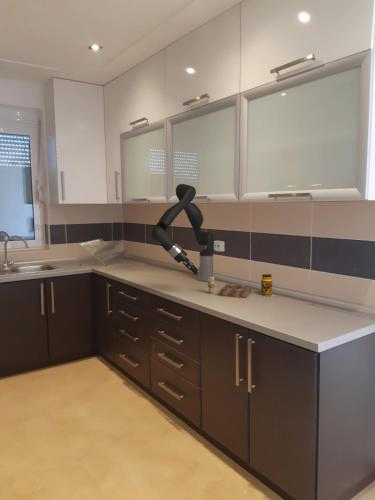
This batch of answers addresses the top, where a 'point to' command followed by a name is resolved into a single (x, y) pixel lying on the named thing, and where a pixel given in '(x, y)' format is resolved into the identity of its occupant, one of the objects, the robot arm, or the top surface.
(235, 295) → the clear brown food package
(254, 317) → the top surface
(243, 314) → the top surface
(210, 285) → the peg
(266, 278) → the condiment
